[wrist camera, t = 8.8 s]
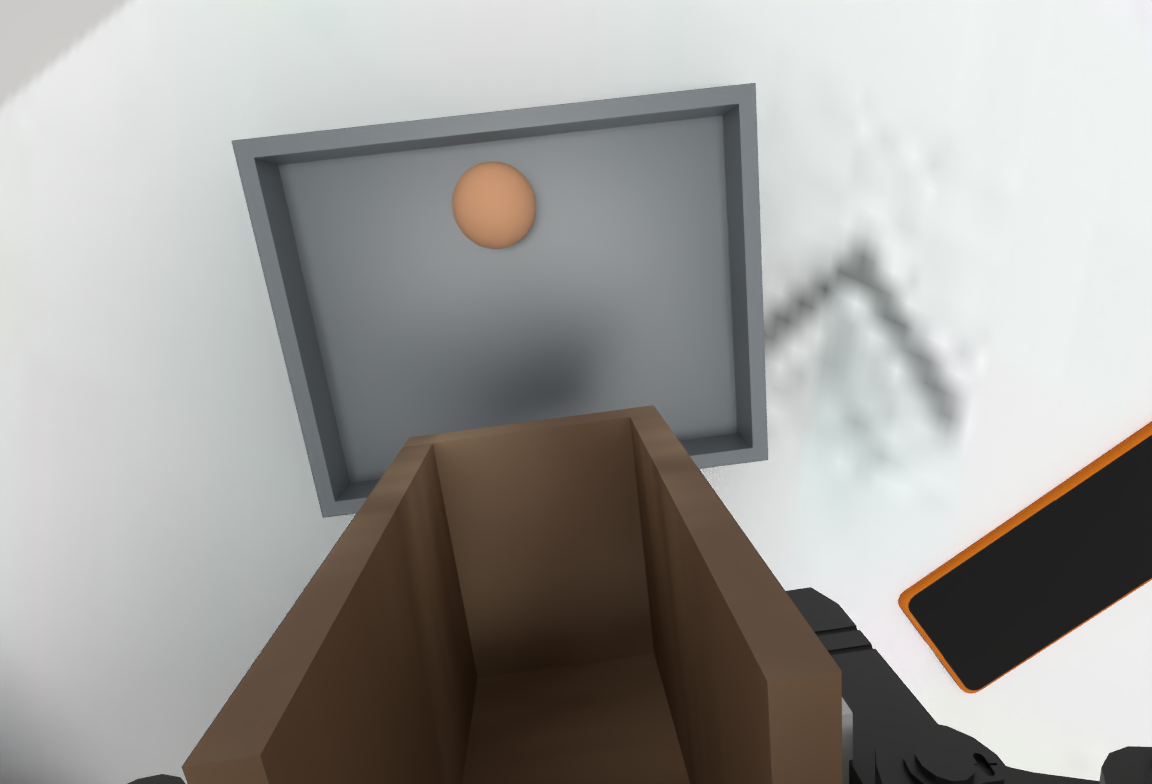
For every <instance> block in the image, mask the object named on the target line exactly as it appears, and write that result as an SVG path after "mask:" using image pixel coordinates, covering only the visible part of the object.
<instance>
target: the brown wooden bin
mask: <svg viewBox="0 0 1152 784" xmlns="http://www.w3.org/2000/svg"><path fill="white" fill-rule="evenodd" d="M182 769H183V772H184V774H185V777H186V780H187V783H188V784H843V783H842V671H841V669H840V668H839V666H838V665H837V664H836V662H835V661H834V659H833V658H832V657H831V655H830V654H829V652H828V651H827V649H826V648H825V647H824V645H823V644H822V642H821V641H820V640H819V638H818V637H817V635H816V634H815V632H814V631H813V630H812V628H811V627H810V625H809V624H808V623H807V621H806V620H805V618H804V617H803V616H802V614H801V613H800V611H799V610H798V608H797V607H796V606H795V604H794V603H793V601H792V600H791V599H790V597H789V596H788V594H787V593H786V591H785V590H784V589H783V587H782V586H781V584H780V583H779V582H778V580H777V579H776V577H775V576H774V574H773V573H772V572H771V570H770V569H769V567H768V566H767V565H766V563H765V562H764V560H763V559H762V557H761V556H760V555H759V553H758V552H757V550H756V549H755V548H754V546H753V545H752V543H751V542H750V541H749V539H748V538H747V536H746V535H745V533H744V532H743V531H742V529H741V528H740V526H739V525H738V524H737V522H736V521H735V519H734V518H733V516H732V515H731V514H730V512H729V511H728V509H727V508H726V507H725V505H724V504H723V502H722V501H721V499H720V498H719V497H718V495H717V494H716V492H715V491H714V490H713V488H712V487H711V485H710V484H709V482H708V481H707V480H706V478H705V477H704V475H703V474H702V473H701V471H700V470H699V468H698V467H697V466H696V464H695V463H694V461H693V460H692V458H691V457H690V456H689V454H688V453H687V451H686V450H685V449H684V447H683V446H682V444H681V443H680V441H679V440H678V439H677V437H676V436H675V434H674V433H673V432H672V430H671V429H670V427H669V426H668V424H667V423H666V422H665V420H664V419H663V417H662V416H661V415H660V413H659V412H658V410H657V409H656V407H655V406H654V405H651V406H643V407H636V408H628V409H621V410H613V411H605V412H598V413H590V414H583V415H575V416H568V417H560V418H552V419H545V420H537V421H530V422H522V423H515V424H507V425H499V426H492V427H484V428H477V429H469V430H462V431H454V432H446V433H439V434H431V435H424V436H416V437H409V439H408V440H407V441H406V443H405V444H404V446H403V447H402V449H401V450H400V452H399V453H398V454H397V456H396V457H395V459H394V460H393V462H392V463H391V465H390V466H389V467H388V469H387V470H386V472H385V473H384V475H383V476H382V478H381V479H380V481H379V482H378V483H377V485H376V486H375V488H374V489H373V491H372V492H371V494H370V495H369V496H368V498H367V499H366V501H365V502H364V504H363V505H362V507H361V508H360V509H359V511H358V512H357V514H356V515H355V517H354V518H353V520H352V521H351V523H350V524H349V525H348V527H347V528H346V530H345V531H344V533H343V534H342V536H341V537H340V538H339V540H338V541H337V543H336V544H335V546H334V547H333V549H332V550H331V551H330V553H329V554H328V556H327V557H326V559H325V560H324V562H323V563H322V565H321V566H320V567H319V569H318V570H317V572H316V573H315V575H314V576H313V578H312V579H311V580H310V582H309V583H308V585H307V586H306V588H305V589H304V591H303V592H302V593H301V595H300V596H299V598H298V599H297V601H296V602H295V604H294V605H293V606H292V608H291V609H290V611H289V612H288V614H287V615H286V617H285V618H284V620H283V621H282V622H281V624H280V625H279V627H278V628H277V630H276V631H275V633H274V634H273V635H272V637H271V638H270V640H269V641H268V643H267V644H266V646H265V647H264V648H263V650H262V651H261V653H260V654H259V656H258V657H257V659H256V660H255V662H254V663H253V664H252V666H251V667H250V669H249V670H248V672H247V673H246V675H245V676H244V677H243V679H242V680H241V682H240V683H239V685H238V686H237V688H236V689H235V690H234V692H233V693H232V695H231V696H230V698H229V699H228V701H227V702H226V704H225V705H224V706H223V708H222V709H221V711H220V712H219V714H218V715H217V717H216V718H215V719H214V721H213V722H212V724H211V725H210V727H209V728H208V730H207V731H206V732H205V734H204V735H203V737H202V738H201V740H200V741H199V743H198V744H197V746H196V747H195V748H194V750H193V751H192V753H191V754H190V756H189V757H188V759H187V760H186V761H185V763H184V764H183V766H182Z"/></svg>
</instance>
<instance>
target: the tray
mask: <svg viewBox="0 0 1152 784" xmlns="http://www.w3.org/2000/svg"><path fill="white" fill-rule="evenodd" d="M232 145H233V149H234V153H235V157H236V161H237V165H238V170H239V174H240V178H241V182H242V186H243V190H244V194H245V198H246V203H247V207H248V211H249V215H250V219H251V223H252V227H253V231H254V236H255V240H256V244H257V248H258V252H259V256H260V260H261V264H262V269H263V273H264V277H265V281H266V285H267V289H268V293H269V297H270V302H271V306H272V310H273V314H274V318H275V322H276V326H277V330H278V335H279V339H280V343H281V347H282V351H283V355H284V359H285V363H286V368H287V372H288V376H289V380H290V384H291V388H292V392H293V396H294V400H295V405H296V409H297V413H298V417H299V421H300V425H301V429H302V433H303V438H304V442H305V446H306V450H307V454H308V458H309V462H310V466H311V471H312V475H313V479H314V483H315V487H316V491H317V495H318V499H319V504H320V508H321V512H322V516H323V518H324V517H331V516H339V515H347V514H354V513H357V512H358V511H359V509H360V508H361V507H362V505H363V504H364V502H365V501H366V499H367V498H368V496H369V495H370V494H371V492H372V491H373V489H374V488H375V486H376V485H377V483H378V482H379V481H380V479H381V478H382V476H383V475H384V473H385V472H386V470H387V469H388V467H389V466H390V465H391V463H392V462H393V460H394V459H395V457H396V456H397V454H398V453H399V452H400V450H401V449H402V447H403V446H404V444H405V443H406V441H407V440H408V439H409V437H416V436H424V435H431V434H439V433H446V432H454V431H462V430H469V429H477V428H484V427H492V426H499V425H507V424H515V423H522V422H530V421H537V420H545V419H552V418H560V417H568V416H575V415H583V414H590V413H598V412H605V411H613V410H621V409H628V408H636V407H643V406H651V405H654V406H655V407H656V409H657V410H658V412H659V413H660V415H661V416H662V417H663V419H664V420H665V422H666V423H667V424H668V426H669V427H670V429H671V430H672V432H673V433H674V434H675V436H676V437H677V439H678V440H679V441H680V443H681V444H682V446H683V447H684V449H685V450H686V451H687V453H688V454H689V456H690V457H691V458H692V460H693V461H694V463H695V464H696V466H697V467H698V468H699V469H701V468H709V467H717V466H725V465H732V464H740V463H748V462H755V461H763V460H768V442H767V413H766V383H765V353H764V323H763V294H762V264H761V234H760V204H759V175H758V145H757V115H756V85H755V83H750V84H741V85H732V86H723V87H714V88H705V89H696V90H687V91H678V92H669V93H660V94H651V95H642V96H633V97H624V98H614V99H605V100H596V101H587V102H578V103H569V104H560V105H551V106H542V107H533V108H524V109H515V110H506V111H497V112H488V113H479V114H469V115H460V116H451V117H442V118H433V119H424V120H415V121H406V122H397V123H388V124H379V125H370V126H361V127H352V128H343V129H333V130H324V131H315V132H306V133H297V134H288V135H279V136H270V137H261V138H252V139H243V140H234V141H232ZM483 162H501V163H505V164H508V165H510V166H512V167H514V168H515V169H517V170H518V171H519V172H520V173H522V174H523V175H524V176H525V178H526V179H527V180H528V182H529V183H530V185H531V187H532V189H533V192H534V195H535V200H536V214H535V219H534V222H533V224H532V226H531V228H530V230H529V231H528V233H527V234H526V235H525V236H524V237H523V238H522V239H521V240H520V241H519V242H517V243H515V244H514V245H511V246H509V247H506V248H500V249H492V248H486V247H483V246H480V245H478V244H476V243H474V242H473V241H471V240H470V239H469V238H467V237H466V236H465V235H464V234H463V232H462V231H461V230H460V228H459V227H458V225H457V223H456V220H455V218H454V214H453V209H452V198H453V192H454V189H455V186H456V184H457V182H458V181H459V179H460V178H461V176H462V175H463V174H464V173H465V172H466V171H467V170H468V169H470V168H471V167H473V166H475V165H477V164H480V163H483Z"/></svg>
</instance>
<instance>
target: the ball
mask: <svg viewBox="0 0 1152 784" xmlns="http://www.w3.org/2000/svg"><path fill="white" fill-rule="evenodd" d="M452 209H453V214H454V218H455V220H456V223H457V225H458V227H459V228H460V230H461V231H462V232H463V234H464V235H465V236H466V237H467V238H469V239H470V240H471V241H473V242H474V243H476V244H478V245H480V246H483V247H486V248H492V249H500V248H506V247H509V246H511V245H514V244H515V243H517V242H519V241H520V240H521V239H522V238H523V237H524V236H525V235H526V234H527V233H528V231H529V230H530V228H531V226H532V224H533V222H534V219H535V214H536V200H535V195H534V192H533V189H532V187H531V185H530V183H529V182H528V180H527V179H526V178H525V176H524V175H523V174H522V173H520V172H519V171H518V170H517V169H515V168H514V167H512V166H510V165H508V164H505V163H501V162H483V163H480V164H477V165H475V166H473V167H471V168H470V169H468V170H467V171H466V172H465V173H464V174H463V175H462V176H461V178H460V179H459V181H458V182H457V184H456V186H455V189H454V192H453V198H452Z"/></svg>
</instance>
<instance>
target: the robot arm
mask: <svg viewBox="0 0 1152 784" xmlns="http://www.w3.org/2000/svg"><path fill="white" fill-rule="evenodd" d="M786 593H787V594H788V596H789V597H790V599H791V600H792V601H793V603H794V604H795V606H796V607H797V608H798V610H799V611H800V613H801V614H802V616H803V617H804V618H805V620H806V621H807V623H808V624H809V625H810V627H811V628H812V630H813V631H814V632H815V634H816V635H817V637H818V638H819V640H820V641H821V642H822V644H823V645H824V647H825V648H826V649H827V651H828V652H829V654H830V655H831V657H832V658H833V659H834V661H835V662H836V664H837V665H838V666H839V668H840V669H841V671H842V783H843V784H1152V747H1131V746H1128V747H1125V748H1122V749H1120V750H1117V751H1114V752H1112V753H1109V755H1108V757H1107V758H1106V760H1105V762H1104V764H1103V766H1102V768H1101V775H1100V781H1093V780H1085V779H1078V778H1070V777H1063V776H1055V775H1048V774H1040V773H1033V772H1029V771H1024V770H1019V769H1015V768H1010V767H1007V766H1005V764H1004V763H1003V762H1002V761H1001V759H1000V758H999V757H998V756H997V755H996V754H995V753H994V752H992V751H991V750H989V749H988V748H987V747H985V746H984V745H983V744H981V743H980V742H979V741H977V740H976V739H974V738H973V737H971V736H968V735H966V734H964V733H962V732H959V731H957V730H955V729H952V728H950V727H948V726H943V725H938V724H937V723H936V721H935V720H934V719H933V718H932V717H931V715H930V714H929V713H928V712H927V711H926V709H925V708H924V707H923V706H922V704H921V703H920V702H919V701H918V700H917V698H916V697H915V696H914V695H913V694H912V692H911V691H910V690H909V689H908V688H907V686H906V685H905V684H904V683H903V682H902V680H901V679H900V678H899V677H898V676H897V674H896V673H895V672H894V671H893V670H892V668H891V667H890V666H889V665H888V663H887V662H886V661H885V660H884V659H883V657H882V656H881V655H880V654H879V653H878V651H877V650H876V649H873V648H872V645H871V643H870V642H869V641H868V639H867V638H866V637H865V636H864V635H863V633H862V632H861V631H860V630H857V628H856V625H855V624H854V622H853V621H852V620H851V619H850V618H849V616H848V615H847V614H846V613H845V612H844V610H843V609H842V608H841V607H840V606H839V604H837V603H836V602H834V601H832V600H831V599H829V598H828V597H826V596H824V595H823V594H821V593H819V592H818V591H816V590H814V589H813V588H804V589H797V590H790V591H786ZM128 784H185V783H184V781H183V780H182V779H181V778H180V777H175V776H170V775H164V774H161V775H156V776H151V777H146V778H141V779H137V780H135V781H132V782H130V783H128Z"/></svg>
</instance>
